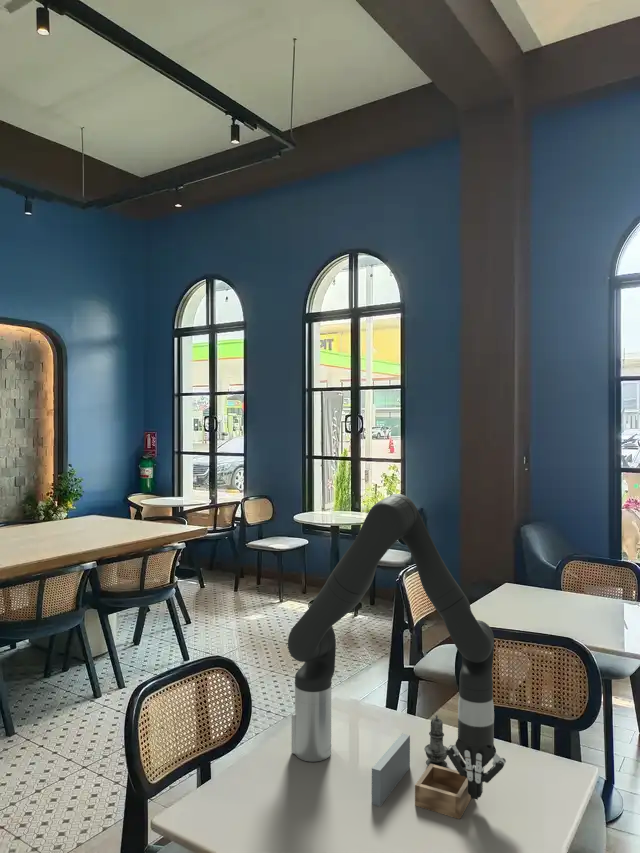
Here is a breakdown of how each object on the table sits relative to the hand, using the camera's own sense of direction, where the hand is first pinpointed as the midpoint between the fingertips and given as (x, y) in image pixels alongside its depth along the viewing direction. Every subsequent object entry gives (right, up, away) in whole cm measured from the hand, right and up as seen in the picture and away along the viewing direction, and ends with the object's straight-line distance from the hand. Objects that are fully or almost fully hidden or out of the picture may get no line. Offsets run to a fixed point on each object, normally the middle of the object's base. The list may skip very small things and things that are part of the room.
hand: (475, 797), depth 138 cm
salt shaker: (-5, -3, +19) cm, 19 cm away
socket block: (-6, -3, +3) cm, 7 cm away
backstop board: (-17, -3, +9) cm, 20 cm away
